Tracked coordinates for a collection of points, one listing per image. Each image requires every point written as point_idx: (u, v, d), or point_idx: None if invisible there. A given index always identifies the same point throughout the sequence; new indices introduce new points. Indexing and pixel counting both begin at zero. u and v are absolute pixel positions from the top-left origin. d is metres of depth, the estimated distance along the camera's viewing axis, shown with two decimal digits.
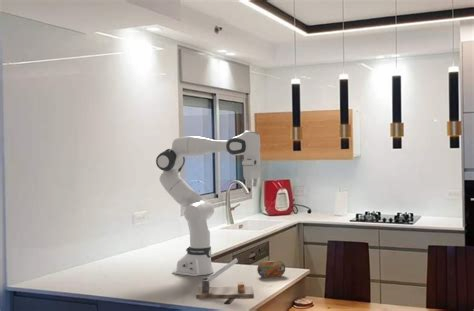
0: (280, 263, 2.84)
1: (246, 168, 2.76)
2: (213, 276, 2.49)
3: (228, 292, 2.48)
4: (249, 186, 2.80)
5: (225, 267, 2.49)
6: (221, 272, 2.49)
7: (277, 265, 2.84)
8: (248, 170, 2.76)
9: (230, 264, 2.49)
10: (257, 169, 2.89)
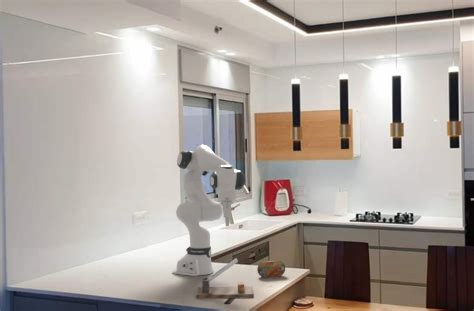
0: (280, 263, 2.84)
1: None
2: (213, 276, 2.49)
3: (228, 292, 2.48)
4: None
5: (225, 267, 2.49)
6: (221, 272, 2.49)
7: (277, 265, 2.84)
8: None
9: (230, 264, 2.49)
10: None
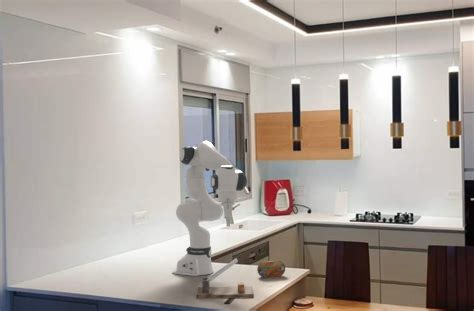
0: (280, 263, 2.84)
1: None
2: (213, 276, 2.49)
3: (228, 292, 2.48)
4: None
5: (225, 267, 2.49)
6: (221, 272, 2.49)
7: (277, 265, 2.84)
8: None
9: (230, 264, 2.49)
10: None
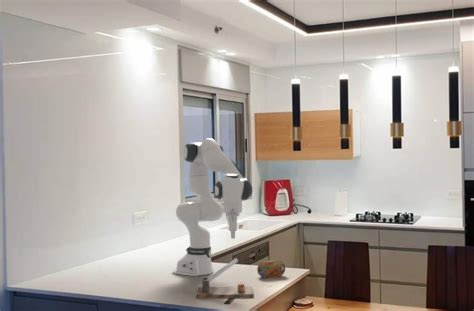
0: (280, 263, 2.84)
1: None
2: (213, 276, 2.49)
3: (228, 292, 2.48)
4: None
5: (225, 267, 2.49)
6: (221, 272, 2.49)
7: (277, 265, 2.84)
8: None
9: (230, 264, 2.49)
10: None
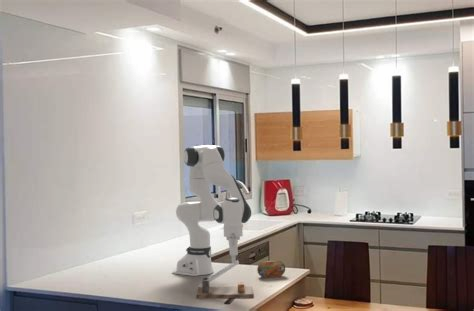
0: (280, 263, 2.84)
1: None
2: (213, 276, 2.49)
3: (228, 292, 2.48)
4: None
5: (226, 268, 2.49)
6: (222, 273, 2.49)
7: (277, 265, 2.84)
8: None
9: (231, 265, 2.49)
10: None
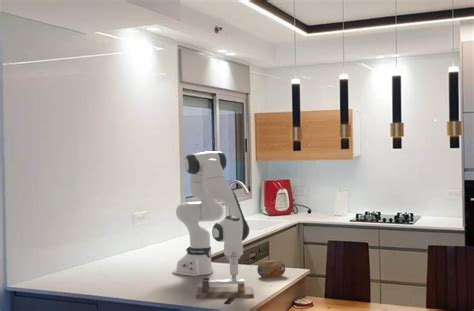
0: (280, 263, 2.84)
1: None
2: (216, 282, 2.49)
3: (228, 292, 2.48)
4: None
5: (230, 281, 2.49)
6: (224, 283, 2.49)
7: (277, 265, 2.84)
8: None
9: (236, 281, 2.49)
10: None
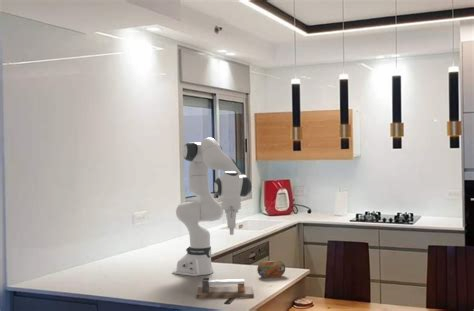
0: (280, 263, 2.84)
1: None
2: (216, 282, 2.49)
3: (228, 292, 2.48)
4: None
5: (230, 281, 2.49)
6: (224, 283, 2.49)
7: (277, 265, 2.84)
8: None
9: (236, 281, 2.49)
10: None
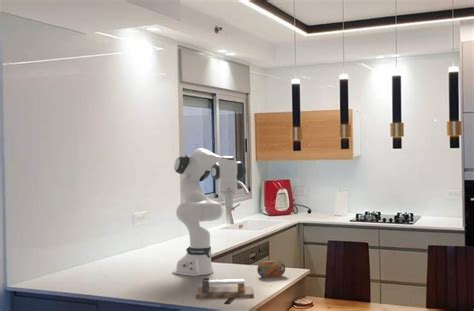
0: (280, 263, 2.84)
1: None
2: (216, 282, 2.49)
3: (228, 292, 2.48)
4: None
5: (230, 281, 2.49)
6: (224, 283, 2.49)
7: (277, 265, 2.84)
8: None
9: (236, 281, 2.49)
10: None
